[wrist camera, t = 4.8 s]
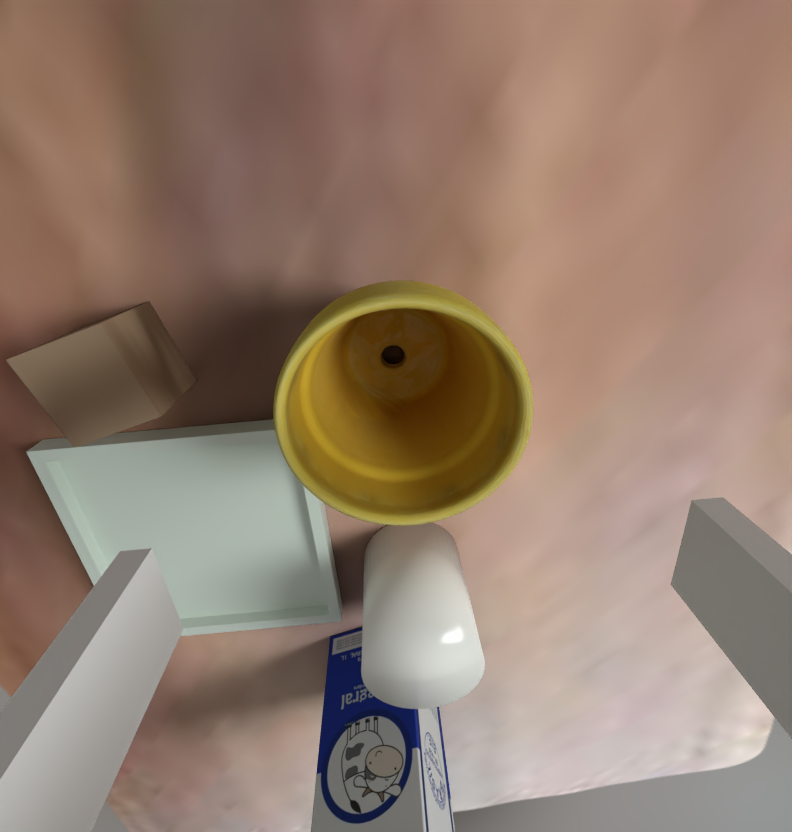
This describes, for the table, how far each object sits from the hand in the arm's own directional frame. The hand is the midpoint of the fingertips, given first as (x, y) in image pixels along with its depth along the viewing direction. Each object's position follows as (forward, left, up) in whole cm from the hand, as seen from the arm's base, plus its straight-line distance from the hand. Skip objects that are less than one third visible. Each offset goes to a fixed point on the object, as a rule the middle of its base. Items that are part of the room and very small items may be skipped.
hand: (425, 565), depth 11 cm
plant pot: (0, 0, -17) cm, 17 cm away
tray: (+12, -14, -17) cm, 25 cm away
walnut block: (-1, -15, -17) cm, 23 cm away
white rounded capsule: (+16, 0, -17) cm, 23 cm away
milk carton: (+26, -3, -17) cm, 31 cm away
